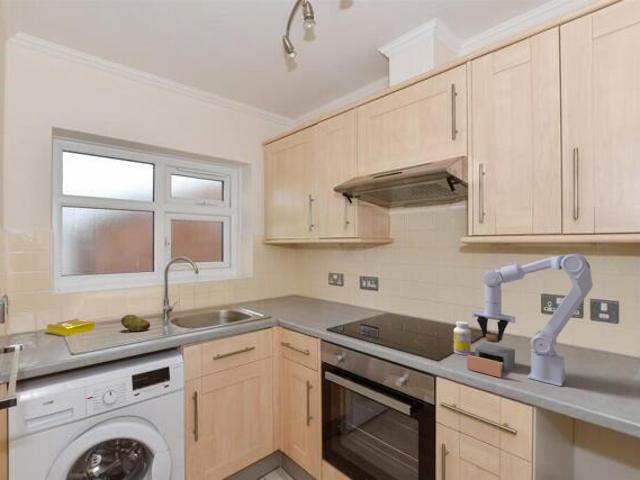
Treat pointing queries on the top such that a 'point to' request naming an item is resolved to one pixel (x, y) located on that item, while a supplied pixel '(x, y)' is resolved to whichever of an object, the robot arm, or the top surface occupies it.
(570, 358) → the top surface
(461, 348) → the supplement bottle
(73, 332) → the element tile
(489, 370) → the drawer
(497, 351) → the storage box
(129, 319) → the potato
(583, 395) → the top surface
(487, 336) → the walnut puck
